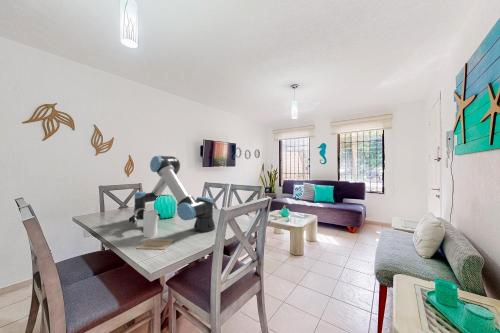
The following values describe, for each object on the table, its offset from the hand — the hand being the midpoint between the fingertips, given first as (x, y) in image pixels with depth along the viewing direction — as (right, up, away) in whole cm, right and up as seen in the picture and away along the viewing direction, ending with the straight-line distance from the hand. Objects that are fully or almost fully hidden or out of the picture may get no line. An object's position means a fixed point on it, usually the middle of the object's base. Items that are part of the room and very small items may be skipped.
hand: (147, 220), depth 134 cm
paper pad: (+15, -9, -19) cm, 26 cm away
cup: (+4, -9, -5) cm, 11 cm away
